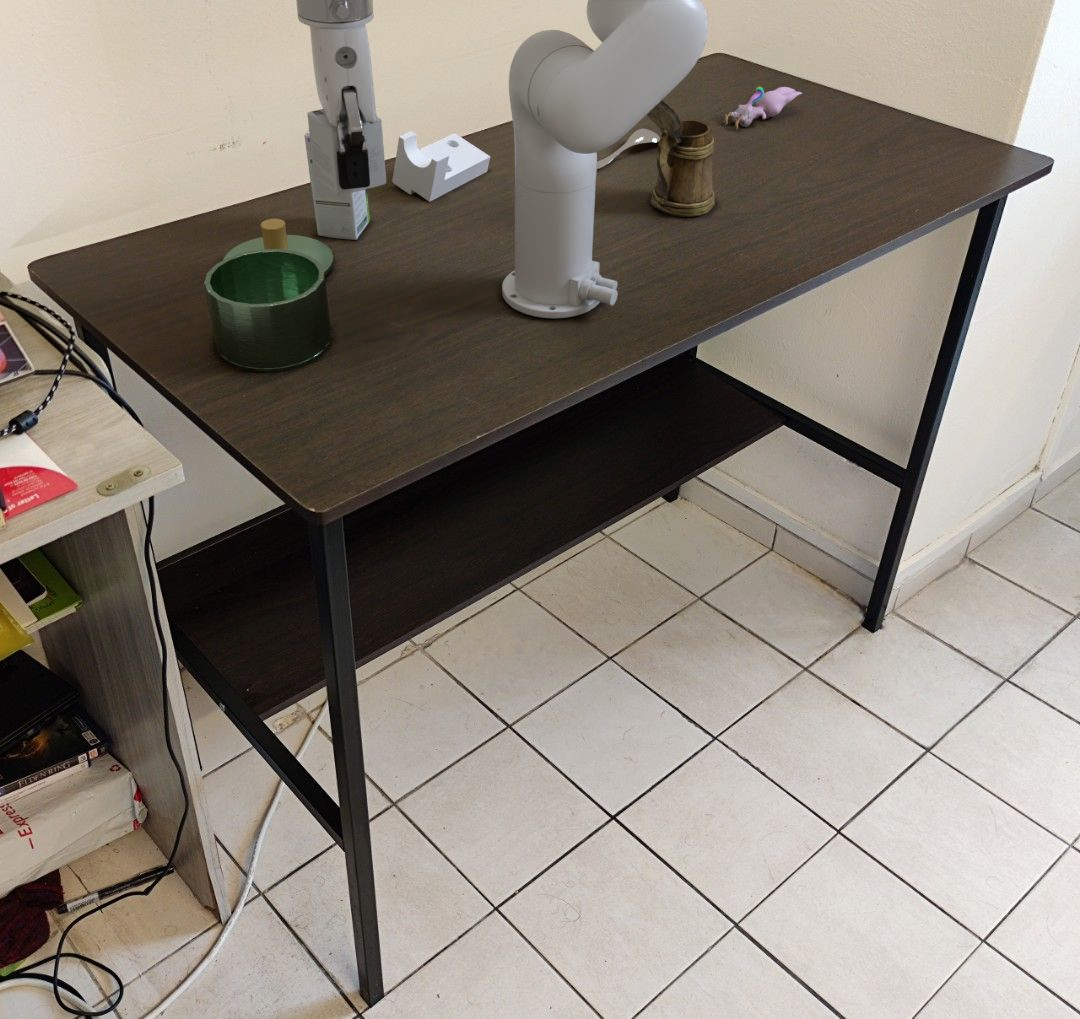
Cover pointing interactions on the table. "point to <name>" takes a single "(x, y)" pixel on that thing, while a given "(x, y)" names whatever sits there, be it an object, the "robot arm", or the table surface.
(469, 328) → the table surface
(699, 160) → the wooden mug
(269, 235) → the tin lid
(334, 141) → the product carton
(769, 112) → the pink creature figurine
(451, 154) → the bracket
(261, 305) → the tin
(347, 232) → the syrup box
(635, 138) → the metal spoon
